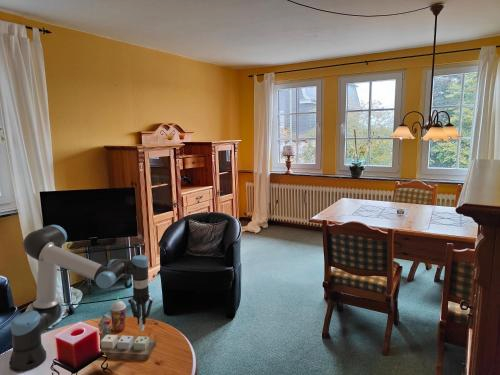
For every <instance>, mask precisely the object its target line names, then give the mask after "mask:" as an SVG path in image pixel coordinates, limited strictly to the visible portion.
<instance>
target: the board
mask: <svg viewBox="0 0 500 375" xmlns="http://www.w3.org/2000/svg"><path fill="white" fill-rule="evenodd" d="M120 338H121V336H120V337H118V340H119V339H120ZM136 339H137V337H136V338H135V337H133V343H134V342H135V340H136ZM99 343H100V349H101V351H103V352H104V353H105V354H106V355H107V357H108V358H107V359H124V360H140V361H148V360H149V358H150V357H151V355H152V353H153V351H154V349H156V346H157V339H152V338H149V346H148V348H147V349H146V351H143V350H134V344H133V345H132V347H131V348H130V350H126V349H117V344H116V346H115V347H114V348H113V349H109V348H101V341H100V342H99Z"/></svg>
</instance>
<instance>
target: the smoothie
mask: <svg viewBox="0 0 500 375" xmlns="http://www.w3.org/2000/svg"><path fill="white" fill-rule="evenodd" d="M110 315H111V328H112V330H113V331H114V332H115V333H119V332H122V331H124V329H125V328H126V318H127V317H126V316H127V305H126V303H125V302H124V301H123V300H120V297H119V296H117V300H115V301H114V302H113V303H112V305H111V306H110Z"/></svg>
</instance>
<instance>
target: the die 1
mask: <svg viewBox="0 0 500 375" xmlns="http://www.w3.org/2000/svg"><path fill="white" fill-rule="evenodd" d="M100 342H101V348H109V349H113V348H114V347H115V346H116V344H117V342H118V334H112V335H106V336H105V337H104V338H103V339H100Z"/></svg>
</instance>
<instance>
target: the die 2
mask: <svg viewBox="0 0 500 375" xmlns="http://www.w3.org/2000/svg"><path fill="white" fill-rule="evenodd" d="M133 338H134V336H133V335H124V334H123V335H121V336H120V339H119V340H118V342H117V349H126V350H130V348H131V347H132V345H133V344H134V343H133Z"/></svg>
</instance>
